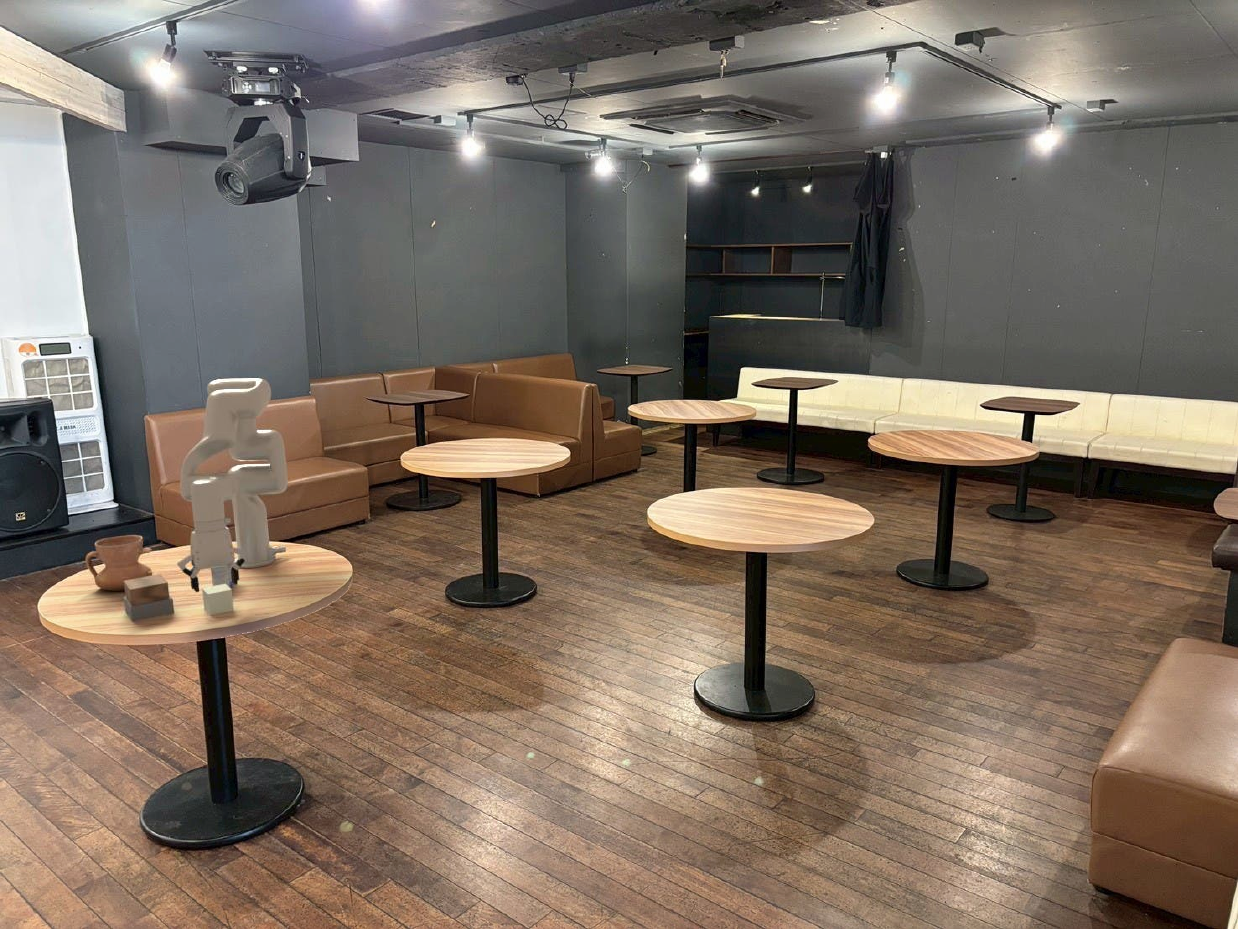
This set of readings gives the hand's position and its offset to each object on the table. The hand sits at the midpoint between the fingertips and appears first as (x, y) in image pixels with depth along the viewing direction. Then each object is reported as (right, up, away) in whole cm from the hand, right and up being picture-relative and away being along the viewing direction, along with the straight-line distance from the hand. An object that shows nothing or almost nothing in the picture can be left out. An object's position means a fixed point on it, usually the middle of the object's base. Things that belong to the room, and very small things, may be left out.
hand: (215, 587), depth 233 cm
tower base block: (-18, -7, 0) cm, 19 cm away
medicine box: (-7, -3, +20) cm, 22 cm away
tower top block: (-18, -3, 0) cm, 18 cm away
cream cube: (0, -6, +2) cm, 7 cm away
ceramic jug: (-37, -3, +21) cm, 43 cm away
